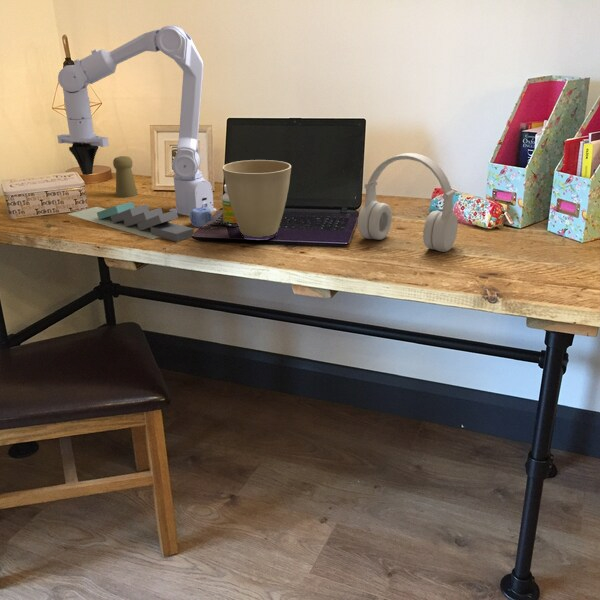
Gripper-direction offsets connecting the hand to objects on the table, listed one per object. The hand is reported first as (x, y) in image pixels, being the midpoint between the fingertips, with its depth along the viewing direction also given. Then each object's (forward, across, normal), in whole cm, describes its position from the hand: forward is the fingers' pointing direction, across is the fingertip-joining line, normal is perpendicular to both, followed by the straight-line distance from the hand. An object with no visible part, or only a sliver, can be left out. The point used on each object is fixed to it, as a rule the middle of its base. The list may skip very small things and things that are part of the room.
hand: (87, 174), depth 165 cm
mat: (+10, -12, +3) cm, 16 cm away
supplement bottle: (+11, -38, -6) cm, 40 cm away
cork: (+11, +5, -19) cm, 22 cm away
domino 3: (+9, -16, +4) cm, 19 cm away
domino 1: (+9, -6, +1) cm, 11 cm away
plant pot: (+11, -48, -1) cm, 50 cm away
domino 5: (+9, -26, +6) cm, 28 cm away
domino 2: (+9, -11, +3) cm, 15 cm away
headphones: (+11, -80, -9) cm, 81 cm away
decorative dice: (+11, -31, -3) cm, 33 cm away
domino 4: (+9, -21, +5) cm, 24 cm away
